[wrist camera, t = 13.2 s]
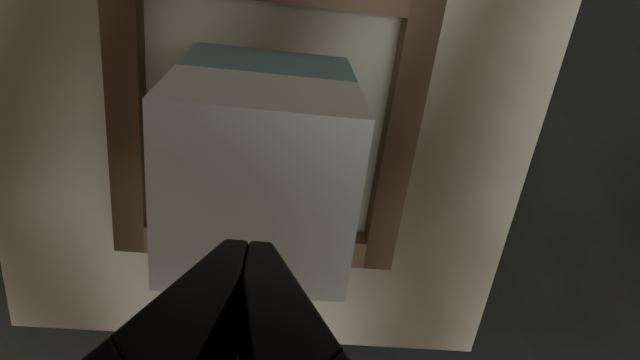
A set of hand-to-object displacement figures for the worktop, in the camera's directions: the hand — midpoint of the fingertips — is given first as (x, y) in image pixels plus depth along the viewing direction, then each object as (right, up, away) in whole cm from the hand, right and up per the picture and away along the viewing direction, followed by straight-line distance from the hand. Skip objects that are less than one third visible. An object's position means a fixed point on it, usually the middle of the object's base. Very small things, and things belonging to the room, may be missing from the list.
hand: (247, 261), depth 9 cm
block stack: (0, +3, +7) cm, 8 cm away
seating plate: (0, +4, +8) cm, 9 cm away
